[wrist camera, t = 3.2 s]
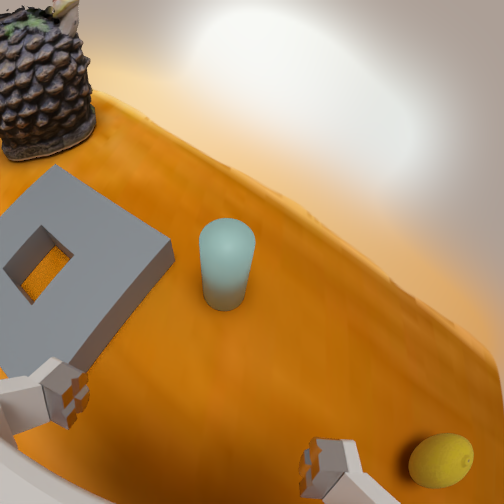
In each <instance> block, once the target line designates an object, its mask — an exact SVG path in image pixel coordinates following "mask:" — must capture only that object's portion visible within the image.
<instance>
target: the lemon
mask: <svg viewBox="0 0 504 504" xmlns="http://www.w3.org/2000/svg"><path fill="white" fill-rule="evenodd" d="M473 456H474V454H473V448H472V445H471V444H470V442H469V441H468V440H467V439H466V438H464V437H462V436H460V435H456V434H452V433H444V434H437V435H434V436H431V437H429V438H427V439H425V440H424V441H422V442H421V443H420V444H419V445H418V446H417V447H416V448H415V449H414V451H413V452H412V454H411V456H410V459H409V466H408V469H409V474H410V476H411V478H412V479H413V480H414V481H415V482H416V483H417V484H418V485H420V486H423V487H426V488H432V489H433V488H444V487H448V486H451V485H453V484H455V483H457V482H458V481H460V480H461V479H462V478H463V477H464V476H465V475H466V474H467V472H468V471H469V470H470V467H471V465H472V462H473Z"/></svg>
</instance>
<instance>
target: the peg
mask: <svg viewBox="0 0 504 504" xmlns="http://www.w3.org/2000/svg"><path fill="white" fill-rule="evenodd" d="M199 246H200V259H201V272H202V284H203V294H204V298H205V300H206V302H207V303H208V305H210V306H211V307H212V308H214V309H216V310H219V311H229V310H233V309H235V308H236V307H238V306H239V305H240V304H241V302H242V301H243V299H244V295H245V290H246V286H247V281H248V276H249V271H250V267H251V262H252V257H253V253H254V248H255V237H254V234H253V232H252V230H251V229H250V228H249V227H248V226H247V225H246V224H244V223H243V222H241V221H239V220H236V219H231V218H222V219H217V220H215V221H212V222H211V223H209V224H208V225H206V226H205V227H204V229H203V230H202V232H201V234H200V238H199Z"/></svg>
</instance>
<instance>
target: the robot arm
mask: <svg viewBox="0 0 504 504" xmlns="http://www.w3.org/2000/svg"><path fill="white" fill-rule="evenodd" d="M87 382H88V374H87V373H85V372H83V371H81V370H79V369H77V368H75V367H73V366H71V365H69V364H68V363H66V362H63V361H61V360H60V359H58V358H56V357H51V358H49V359H48V360H47V361H46V362H45V363H44V364H42V365H41V366H40V367H39V368H38V369H37V370H36V371H35V372H33V373H32V374H31V375H30V376H29V377H27V376H20V377H14V378H8V379H2V380H0V504H116V503H113V502H111V501H109V500H106V499H104V498H102V497H100V496H97V495H95V494H93V493H91V492H89V491H87V490H85V489H83V488H81V487H79V486H77V485H75V484H73V483H71V482H69V481H67V480H66V479H64V478H62V477H60V476H59V475H57V474H55V473H53V472H52V471H50V470H48V469H47V468H45V467H43V466H42V465H40V464H39V463H37V462H35V461H34V460H32V459H31V458H29V457H28V456H26V455H25V454H23V453H22V452H20V451H19V450H18V447H17V444H16V442H15V439H14V437H13V435H15V434H18V433H21V432H24V431H26V430H29V429H32V428H34V427H37V426H39V425H42V424H44V423H47V422H50V420H51V421H53V422H54V423H56V424H58V425H60V426H62V427H64V428H66V429H68V430H69V429H70V428H71V426H72V425H73V424H74V422H75V421H76V420H77V415H76V414H77V413H80V412H83V411H84V409H85V408H86V406H87V404H88V401H89V396H90V393H89V389H88V387H87V386H86V384H87ZM299 474H300V476H301V477H302V480H301V481H300V483H299V489H300V497H304V498H315V499H323V502H324V503H325V504H401V503H399V502H398V501H397V500H396V499H395V498H394V497H392V496H391V495H390V494H389V493H388V492H387V491H386V490H385V489H384V488H382V487H381V486H380V485H379V484H378V483H377V482H376V481H375V480H374V479H373V478H371V477H370V476H369V475H368V474H367V473H363V471H362V467H361V463H360V459H359V455H358V451H357V447H356V443H355V441H354V440H344V439H332V438H321V437H313V438H312V439H311V440H310V442H309V449H307V450H305V451H304V452H303V454H302V456H301V459H300V462H299Z"/></svg>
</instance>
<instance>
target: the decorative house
mask: <svg viewBox="0 0 504 504" xmlns="http://www.w3.org/2000/svg"><path fill="white" fill-rule="evenodd" d="M54 1H55V2H54ZM53 2H54V4H53V7H54V13H52V10H53V7H51V6H49V7H47V8H46V9H45V10H41V9H35V8H34V7H28V8H29V9H28V10H25V8H24V6H22V7H23V8H19V9H17V10H16V11H15V12H13V13H12V14H11V13H5V14H0V138H1V139H2V150H3V152H4V154H5V155H6V157H7V158H8V159H10V160H13V161H22V160H26V159H32V158H35V157H41V156H49V155H51V154H54V153H56V152H60V151H61V150H62V149H63V150H64V149H66V148H70V147H72V146H73V145H76V144H78V143H79V142H81V141H82V140H84V139H86V138H87V137H88V136H89V135H90V134H91V132H92V131H93V128H94V127H95V124H96V117H95V107H93V106H92V105H91V104H90V102H91V96H90V94H92V91H93V90H92V88H91V85H90V84H89V82H88V75H87V67H88V65H89V64H90V58H88V57H86V56H84V55H83V52H82V50H81V47H82V45H83V41H82V40H80V39H79V36H78V33H77V32H76V31H77V27H78V24H79V17H78V4H79V0H53ZM7 11H8V10H7Z"/></svg>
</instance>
